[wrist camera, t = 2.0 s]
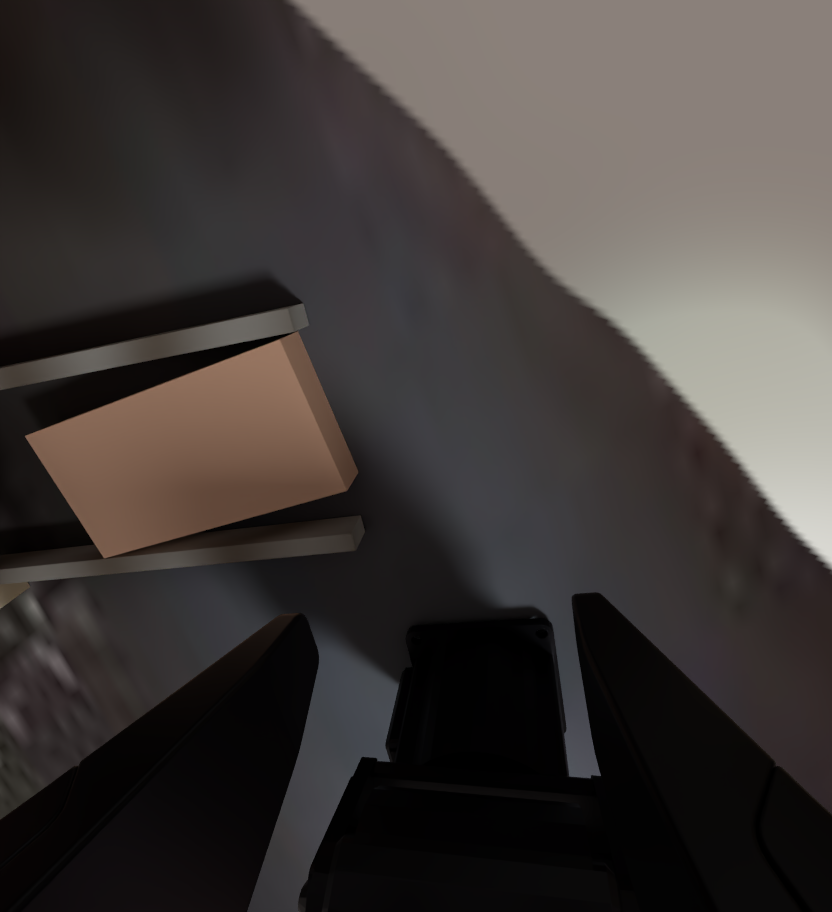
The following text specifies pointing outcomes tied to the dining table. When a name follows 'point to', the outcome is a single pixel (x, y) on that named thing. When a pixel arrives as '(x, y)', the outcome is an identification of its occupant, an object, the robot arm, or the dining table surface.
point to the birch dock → (13, 571)
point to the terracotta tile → (200, 450)
